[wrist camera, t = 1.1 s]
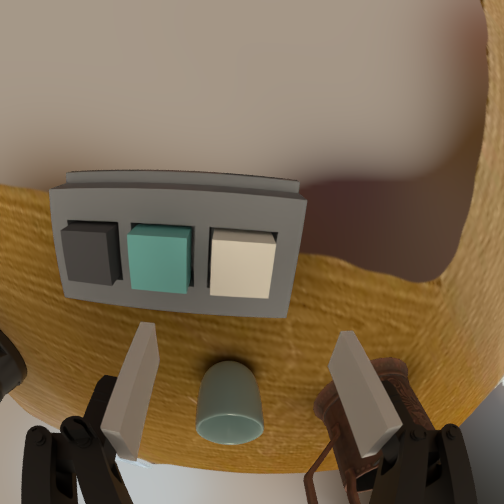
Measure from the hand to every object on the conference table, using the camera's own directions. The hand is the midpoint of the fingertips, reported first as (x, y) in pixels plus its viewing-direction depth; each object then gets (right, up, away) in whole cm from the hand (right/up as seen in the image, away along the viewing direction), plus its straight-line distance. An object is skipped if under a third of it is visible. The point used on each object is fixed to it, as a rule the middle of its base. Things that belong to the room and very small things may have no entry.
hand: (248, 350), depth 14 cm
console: (-8, +7, +14) cm, 17 cm away
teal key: (-8, +5, +10) cm, 14 cm away
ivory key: (-1, +5, +11) cm, 12 cm away
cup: (-3, -11, +22) cm, 25 cm away
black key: (-15, +6, +10) cm, 19 cm away
